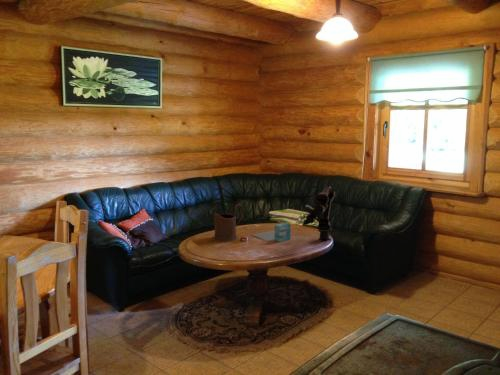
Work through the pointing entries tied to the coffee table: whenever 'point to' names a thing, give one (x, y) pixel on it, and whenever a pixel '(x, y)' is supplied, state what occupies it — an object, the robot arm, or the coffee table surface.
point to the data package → (282, 232)
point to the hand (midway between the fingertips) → (303, 224)
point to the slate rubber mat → (266, 235)
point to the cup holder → (226, 226)
